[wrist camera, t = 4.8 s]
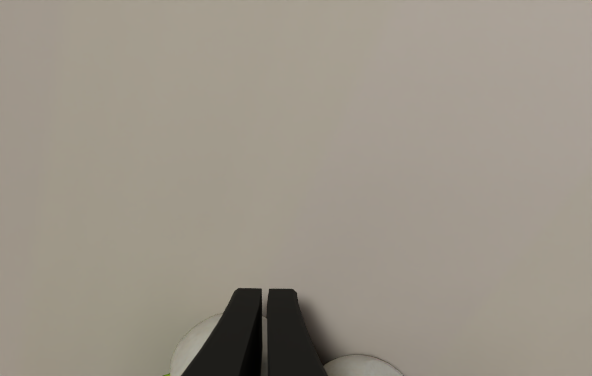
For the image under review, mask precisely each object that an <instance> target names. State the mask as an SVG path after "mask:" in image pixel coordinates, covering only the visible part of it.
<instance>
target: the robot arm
mask: <svg viewBox="0 0 592 376" xmlns="http://www.w3.org/2000/svg"><path fill="white" fill-rule="evenodd" d="M262 349H263V341H262V289H256V288H238V289H237V290H236V291H234V293H233V295H232V298H231V300H230V302H229V304H228V306H227V307H226V309H225V311H224V313H223V315H222V316H221V318H220V320H219V321H218V323H217V325H216V326H215V328H214V329H213V331H212V332H211V334H210V336H209V337H208V339H207V340H206V342H205V343H204V345H203V346H202V348H201V349H200V351H199V352H198V353H197V355H196V356H195V357H194V359H193V360H192V361H191V363H190V364H189V365H188V367H187V368H186V369H185V371H184V372H183V373H182V375H181V376H261V365H262ZM267 361H268V376H328V375H327V373H326V371H325V369H324V367H323V365H322V363H321V361H320V359H319V357H318V355H317V353H316V350H315V348H314V346H313V343H312V341H311V339H310V336H309V334H308V331H307V329H306V326H305V323H304V320H303V318H302V315H301V311H300V308H299V304H298V299H297V293H296V292H295V291H294V290H293V289H269V294H268V303H267Z"/></svg>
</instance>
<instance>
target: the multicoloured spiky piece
mask: <svg viewBox="0 0 592 376" xmlns="http://www.w3.org/2000/svg"><path fill="white" fill-rule="evenodd" d="M222 315H223V313H221V314H217V315H214V316H212V317H209V318H208V319H206V320H204V321H202V322H200V323H199V324H198V325H196V326H195V327H194V328H193V329H191V330H190V331H189V332H188V333H187V334H186V335H185V336H184V338H183V339H182V340H181V341H180V342H179V344H178V345H177V347H176V349H175V351H174V353H173V356H172V359H171V365H170V374H167V375H164V376H181V375H182V373H183V372H184V371H185V369H186V368H187V367H188V365H189V364H190V363H191V361H192V360H193V359H194V357H195V356H196V355H197V353H198V352H199V351H200V349H201V348H202V346H203V345H204V343H205V342H206V340H207V339H208V337H209V336H210V334H211V332H212V331H213V329H214V328H215V326H216V325H217V323H218V321H219V320H220V318H221V316H222ZM262 341H263V349H262V365H261V376H268V361H267V318H265V317H263V316H262ZM323 367H324V369H325V371H326V373H327V375H328V376H404V375H402V374H401V373H400V372H399V371H398V370H397V369H396V368H394V367H393V366H391V365H390V364H388V363H387V362H385V361H382V360H380V359H377V358H375V357H370V356H366V355H348V356H343V357H340V358H337V359H334V360H332V361H330V362H328V363H327V364H325V365H324V366H323Z"/></svg>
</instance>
